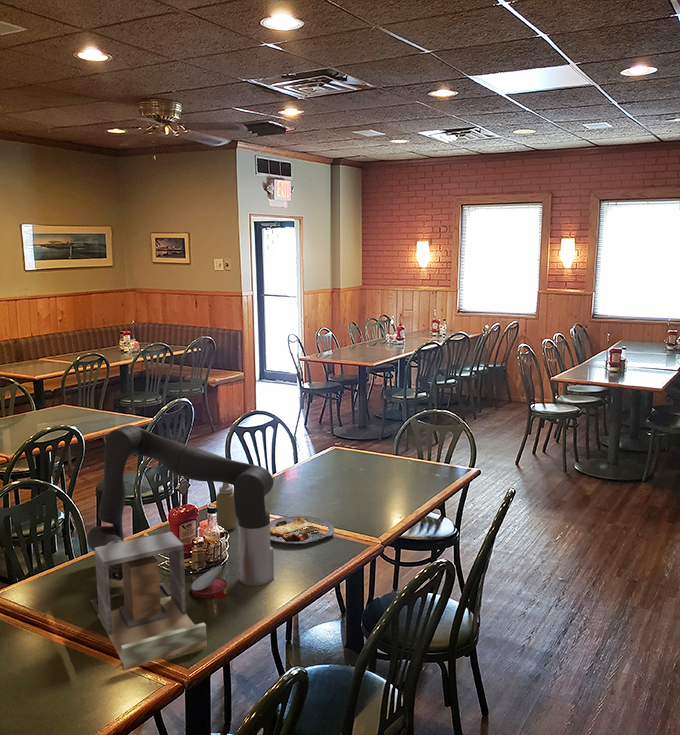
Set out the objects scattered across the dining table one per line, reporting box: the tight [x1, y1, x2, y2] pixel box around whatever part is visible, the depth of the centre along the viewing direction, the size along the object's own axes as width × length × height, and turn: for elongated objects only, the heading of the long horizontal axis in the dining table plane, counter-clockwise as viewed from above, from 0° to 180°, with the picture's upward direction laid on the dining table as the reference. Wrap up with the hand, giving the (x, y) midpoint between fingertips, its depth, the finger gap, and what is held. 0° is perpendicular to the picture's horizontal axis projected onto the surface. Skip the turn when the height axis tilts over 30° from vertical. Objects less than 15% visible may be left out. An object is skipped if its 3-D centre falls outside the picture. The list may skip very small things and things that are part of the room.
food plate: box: [270, 515, 335, 545], centre depth 244 cm, size 25×23×4 cm
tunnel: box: [90, 531, 208, 672], centre depth 183 cm, size 20×35×21 cm, turn 31°
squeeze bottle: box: [215, 482, 238, 531], centre depth 249 cm, size 8×8×18 cm
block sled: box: [118, 555, 167, 628], centre depth 186 cm, size 10×9×16 cm
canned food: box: [190, 565, 228, 602], centre depth 201 cm, size 11×10×10 cm
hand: (134, 580), depth 192 cm, fingers closed
